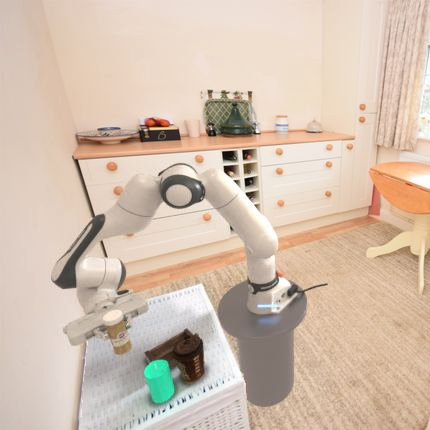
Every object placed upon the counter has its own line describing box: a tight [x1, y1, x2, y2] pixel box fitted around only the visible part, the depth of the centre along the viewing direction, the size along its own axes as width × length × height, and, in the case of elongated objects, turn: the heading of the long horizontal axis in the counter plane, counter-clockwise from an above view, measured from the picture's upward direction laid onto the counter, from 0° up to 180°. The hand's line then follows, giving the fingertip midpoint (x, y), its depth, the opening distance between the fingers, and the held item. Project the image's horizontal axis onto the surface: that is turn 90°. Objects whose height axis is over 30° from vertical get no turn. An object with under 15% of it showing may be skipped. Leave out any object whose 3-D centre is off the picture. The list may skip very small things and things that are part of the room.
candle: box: [143, 360, 176, 404], centre depth 82 cm, size 6×6×12 cm
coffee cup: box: [172, 334, 206, 385], centre depth 88 cm, size 9×8×13 cm
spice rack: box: [143, 328, 200, 371], centre depth 95 cm, size 14×9×7 cm, turn 139°
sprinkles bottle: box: [103, 310, 133, 356], centre depth 84 cm, size 5×5×14 cm
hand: (118, 332), depth 84 cm, fingers closed on sprinkles bottle, 4 cm apart
